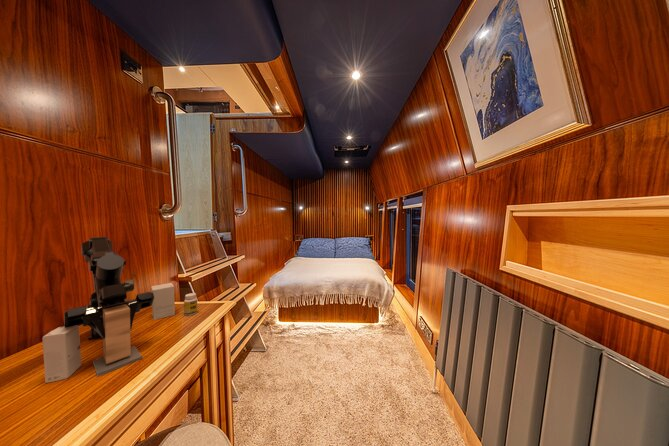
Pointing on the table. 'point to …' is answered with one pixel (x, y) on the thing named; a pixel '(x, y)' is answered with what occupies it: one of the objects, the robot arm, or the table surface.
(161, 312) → the supplement box
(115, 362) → the slate coaster
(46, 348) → the skincare box
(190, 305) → the supplement bottle
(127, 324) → the oak block
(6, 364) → the table surface
